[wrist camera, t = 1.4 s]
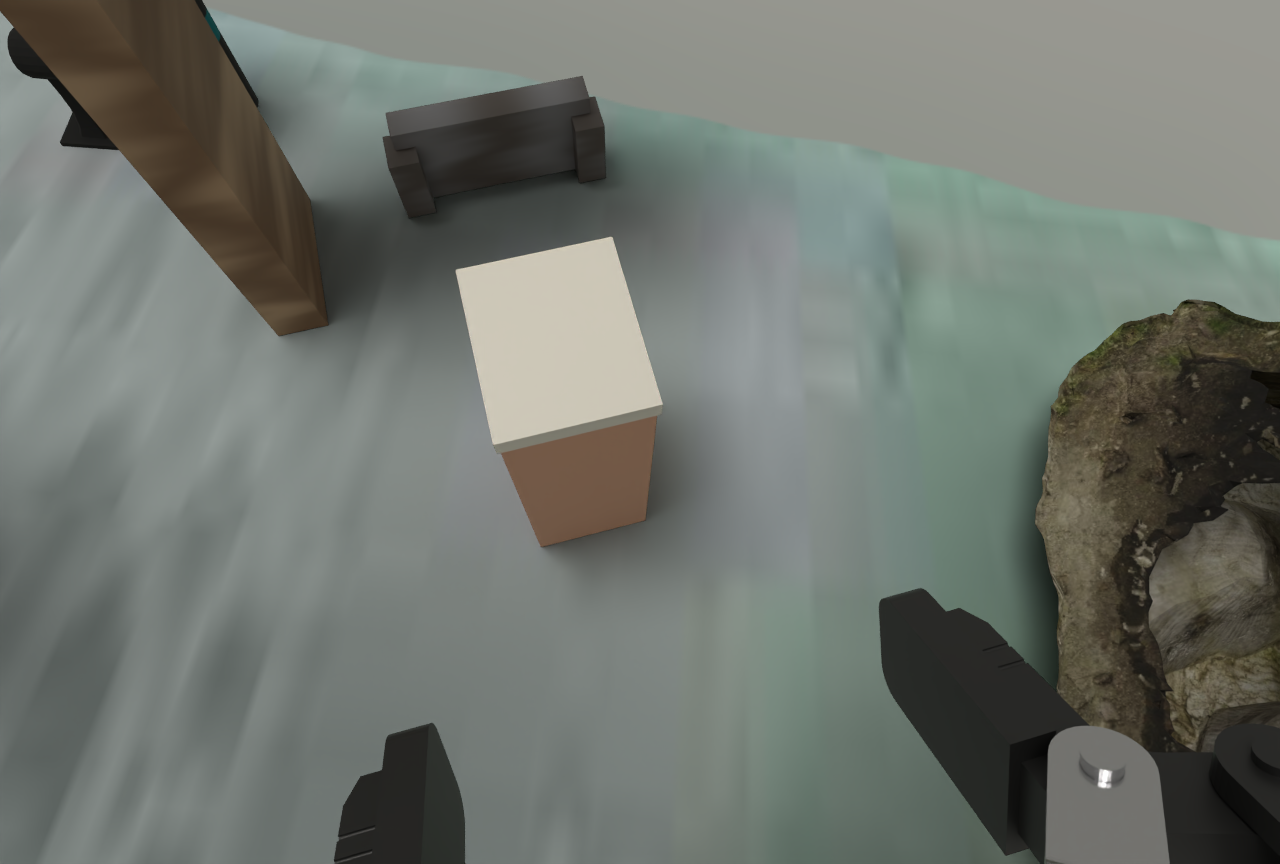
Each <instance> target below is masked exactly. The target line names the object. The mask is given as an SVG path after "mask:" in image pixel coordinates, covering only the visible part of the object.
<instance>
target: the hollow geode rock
mask: <svg viewBox="0 0 1280 864" xmlns="http://www.w3.org/2000/svg"><path fill="white" fill-rule="evenodd" d="M1173 311H1174V313H1173V314H1172V315H1167V314H1164V313H1162V314H1158V315H1154V316H1150V317H1147V318H1145V319H1142V320H1138V321H1129V322H1127V323H1124V324H1122V325H1121V326H1120V327H1118V328H1117V329H1116V331H1115V332H1114V333H1113V334H1112V335H1111V336H1109V337H1108V338H1107V339H1106V340H1104V341H1103V342H1102V344H1101V345H1100V346H1099V347H1098V348H1097V349H1096V350H1094V351H1093V352H1090V353H1088V354H1087V355H1086V356H1084V357H1083V358H1082V359H1080V360H1079V361H1078V362H1077V363H1076V364H1075V365H1074V366H1073V367H1072V368H1071V370H1070V372H1069V374H1068V376H1067V378H1066V379H1065V380H1064V381H1063V383H1062V384H1061V385H1060V388H1059V392H1058V398H1057V400H1056V401H1055V402H1054V403H1053V405H1052V406H1051V420H1050V425H1049V435H1048V460H1047V462H1046V466H1045V473H1044V475H1043V477H1042V484H1043V493H1042V497H1041V499H1040V501H1039V502H1038V504H1037V507H1036V515H1035V525H1036V526H1037V528H1038V529H1039V531H1040V532H1041V534H1042V536H1043V538H1044V542H1045V548H1046V554H1047V559H1048V565H1049V570H1050V574H1051V577H1052V579H1053V582H1054V584H1055V587H1056V590H1057V593H1058V597H1059V620H1058V625H1057V644H1058V648H1059V676H1058V682H1057V687H1056V689H1057V693H1058V694H1059V695H1060V696H1061V697H1062V698H1063V699H1064V700H1065V701H1066V702H1067V703H1068V704H1069V705H1070V706H1071V707H1072V708H1073V709H1074V710H1075V711H1076V712H1077V713H1078V714H1079V715H1080V716H1081V717H1082V718H1083V719H1084V720H1085V721H1086V722H1087V723H1088V724H1089V725H1090V726H1096V727H1102V728H1106V729H1110V730H1113V731H1116V732H1119V733H1121V734H1123V735H1125V736H1127V737H1129V738H1131V739H1132V740H1134V741H1135V742H1137V743H1138V744H1139V745H1141V746H1142V747H1143V748H1144V749H1145V750H1146V751H1149V752H1162V753H1174V752H1213V750H1214V744H1215V740H1216V738H1217V736H1218V735H1219V734H1220V733H1221V731H1223V730H1224V729H1226V728H1228V727H1231V726H1234V725H1239V724H1251V723H1253V724H1263V725H1269V726H1274V727H1277V728H1280V322H1262V321H1259V320H1255V319H1252V318H1249V317H1245V316H1241V315H1238V314H1235V313H1233V312H1231V311H1230V310H1228V309H1226V308H1225V307H1223V306H1221V305H1219V304H1217V303H1215V302H1208V301H1201V300H1186V301H1183V302H1181V303H1180V304H1179V306H1178V307H1177V309H1175V310H1173Z"/></svg>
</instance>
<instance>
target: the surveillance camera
mask: <svg viewBox="0 0 1280 864" xmlns="http://www.w3.org/2000/svg"><path fill="white" fill-rule="evenodd" d="M195 2H196V4H197V5H198V7H199V9H200V11H201V12H202V14H203V16H204V17H205V19H206V21H207V23H208V24H209V26H210V28H211V30H212V31H213V33H214V35H215V36H216V38H217V40H218V42H219V43H220V45H221V47H222V49H223V50H224V52H225V54H226V55H227V57H228V59H229V61H230V62H231V64H232V66H233V67H234V69H235V71H236V73H237V74H238V76H239V78H240V80H241V81H242V83H243V85H244V86H245V88H246V90H247V92H248V93H249V95H250V97H251V99H252V100H253V102H254V104H255V105H256V107H258V98H257V97H256V95H255V93H254V91H253V90H252V88H251V86H250V84H249V83H248V81H247V79H246V77H245V75H244V74H243V72H242V70H241V68H240V67H239V65H238V63H237V61H236V60H235V58H234V56H233V54H232V53H231V51H230V49H229V47H228V45H227V44H226V42H225V40H224V38H223V37H222V35H221V33H220V31H219V30H218V28H217V26H216V24H215V22H214V21H213V19H212V17H211V15H210V14H209V12H208V10H207V8H206V7H205V5H204V3H203V1H202V0H195ZM8 50H9V54H10V57H11V59H12V61H13V63H14V64H15V66H16V67H17V69H18V70H20V71H21V72H22V73H23V74H25V75H27V76H30V77H32V78H39V79H48V80H49V82H50V83H51V84H52V85H53V86H54V88H55V89H56V90H57V91H58V92H59V94H60V95H61V96H62V98H63V99H64V100H65V102H66V103H67V104H68V106H69V107H70V108H71V110H72V112H73V113H72V115H71V117H70V120H69V122H68V125H67V127H66V129H65V132H64V134H63V136H62V139H61V141H60V143H61V145H62V146H71V147H85V148H98V149H111V150H119V149H118V148H117V147H116V146H115V145H114V143H113V142H112V141H111V140H110V139H109V138H108V136H107V135H106V134H105V133H104V132H103V131H102V129H101V128H100V127H99V126H98V125H97V124H96V122H95V121H94V120H93V119H92V118H91V117H90V115H89V114H88V113H87V112H86V111H85V109H84V108H83V107H82V106H81V105H80V104H79V102H78V101H77V100H76V99H75V98H74V97H73V95H72V94H71V93H70V92H69V91H68V90H67V88H66V87H65V86H64V85H63V84H62V83H61V81H60V80H59V79H58V78H57V77H56V76H55V74H54V73H53V72H52V71H51V70H50V69H49V67H48V66H47V65H46V64H45V63H44V62H43V60H42V59H41V58H40V57H39V56H38V55H37V53H36V52H35V51H34V50H33V49H32V48H31V46H30V45H29V44H28V43H27V42H26V41H25V39H24V38H23V37H22V36H21V35H20V34H19V32H18V31H17V30H16V29H15V28H13V29H12V30H11V31H10V33H9V36H8Z"/></svg>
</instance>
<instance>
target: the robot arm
mask: <svg viewBox="0 0 1280 864" xmlns="http://www.w3.org/2000/svg"><path fill="white" fill-rule="evenodd" d="M879 619H880V638H881V657H882V668H883V673H884V677H885V680H886V683H887V685H888V688H889V690H890V692H891V694H892V696H893V698H894V699H895V701H896V702H897V704H898V705H899V706H900V708H901V709H902V711H903V712H904V713H905V715H906V716H907V718H908V719H909V721H910V722H911V723H912V725H913V726H914V728H915V729H916V730H917V732H918V733H919V735H920V736H921V737H922V739H923V740H924V742H925V743H926V744H927V746H928V747H929V749H930V750H931V751H932V753H933V754H934V756H935V757H936V758H937V760H938V761H939V763H940V764H941V766H942V767H943V768H944V770H945V771H946V773H947V774H948V775H949V777H950V778H951V780H952V781H953V782H954V784H955V785H956V787H957V788H958V789H959V791H960V792H961V794H962V795H963V796H964V798H965V799H966V801H967V802H968V803H969V805H970V806H971V808H972V809H973V810H974V812H975V813H976V815H977V816H978V818H979V819H980V820H981V822H982V823H983V825H984V826H985V827H986V829H987V830H988V832H989V833H990V834H991V836H992V837H993V839H994V840H995V841H996V843H997V844H998V846H999V847H1000V848H1001V850H1002V851H1003V853H1004V854H1005V855H1006V856H1007V855H1010V854H1013V853H1016V852H1019V851H1022V850H1025V849H1028V848H1029V849H1030V850H1031V851H1032V853H1033V854H1034V855H1035V857H1036V858H1037V859H1038V861H1039V862H1040V863H1041V864H1280V728H1277V727H1274V726H1269V725H1263V724H1253V723H1251V724H1239V725H1234V726H1231V727H1228V728H1226V729H1224V730H1223V731H1221V733H1220V734H1219V735H1218V736H1217V738H1216V740H1215V744H1214V750H1213V752H1174V753H1162V752H1149V751H1146V750H1145V749H1144V748H1143V747H1142V746H1141V745H1139V744H1138V743H1137V742H1135V741H1134V740H1132V739H1131V738H1129V737H1127V736H1125V735H1123V734H1121V733H1119V732H1116V731H1113V730H1110V729H1106V728H1102V727H1096V726H1090V725H1089V724H1088V723H1087V722H1086V721H1085V720H1084V719H1083V718H1082V717H1081V716H1080V715H1079V714H1078V713H1077V712H1076V711H1075V710H1074V709H1073V708H1072V707H1071V706H1070V705H1069V704H1068V703H1067V702H1066V701H1065V700H1064V699H1063V698H1062V697H1061V696H1060V695H1059V694H1058V693H1057V692H1056V691H1055V690H1054V689H1053V688H1052V687H1051V686H1050V685H1049V684H1048V683H1047V682H1046V681H1045V680H1044V679H1043V678H1042V677H1041V676H1040V675H1039V674H1038V673H1037V672H1036V671H1035V670H1034V669H1033V668H1032V667H1031V666H1030V665H1029V664H1028V663H1027V664H1026V663H1025V662H1024V659H1023V658H1022V657H1021V656H1020V655H1019V654H1018V653H1017V652H1016V651H1015V650H1014V649H1013V648H1012V647H1009V646H1008V643H1007V642H1006V641H1005V640H1004V639H1003V638H1002V637H1001V636H1000V635H999V634H998V633H997V632H996V631H995V630H994V629H993V628H992V627H991V625H990V624H989V623H987V622H986V621H984V620H982V619H980V618H978V617H976V616H974V615H972V614H970V613H968V612H966V611H964V610H962V609H960V608H958V609H954V610H951V611H947V612H946V611H945V610H944V609H943V608H942V607H941V606H940V605H939V604H938V603H937V601H936V600H935V599H934V598H933V597H932V596H931V595H930V594H929V593H928V592H927V591H926V590H924V589H922V588H919V589H915V590H912V591H908V592H905V593H901V594H897V595H894V596H890V597H887V598H883V599H881V601H880V603H879ZM338 837H339V841H338V842H337V845H336V851H335V857H334V862H335V864H465V819H464V810H463V803H462V798H461V794H460V790H459V787H458V784H457V781H456V778H455V776H454V773H453V771H452V768H451V765H450V763H449V760H448V757H447V755H446V752H445V749H444V747H443V744H442V741H441V739H440V736H439V733H438V731H437V728H436V727H435V725H434V724H433V723H430V724H426V725H422V726H419V727H415V728H412V729H408V730H404V731H401V732H397V733H394V734H390V735H388V736H387V739H386V743H385V750H384V759H383V767H382V770H381V771H378V772H374V773H371V774H367V775H364V776H360V778H359V780H358V782H357V783H356V785H355V787H354V788H353V790H352V792H351V794H350V795H349V797H348V799H347V800H346V802H345V804H344V806H343V810H342V816H341V822H340V828H339V834H338Z"/></svg>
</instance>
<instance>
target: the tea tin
mask: <svg viewBox="0 0 1280 864" xmlns="http://www.w3.org/2000/svg"><path fill="white" fill-rule="evenodd" d="M456 275H457V279H458V284H459V289H460V293H461V298H462V303H463V307H464V312H465V316H466V321H467V326H468V330H469V335H470V340H471V344H472V349H473V354H474V358H475V363H476V368H477V372H478V377H479V381H480V386H481V391H482V395H483V400H484V405H485V409H486V414H487V419H488V423H489V428H490V433H491V437H492V442H493V446H494V448H495V450H496V453H497V454H499V453H501V454H502V457H503V459H504V461H505V464H506V466H507V468H508V471H509V473H510V476H511V478H512V480H513V483H514V485H515V487H516V490H517V492H518V494H519V497H520V499H521V501H522V504H523V506H524V508H525V511H526V513H527V515H528V518H529V520H530V523H531V525H532V527H533V530H534V532H535V534H536V537H537V539H538V541H539V544H540V546H541V547H544V546H547V545H551V544H555V543H559V542H563V541H567V540H571V539H575V538H579V537H583V536H587V535H590V534H594V533H598V532H602V531H606V530H610V529H614V528H618V527H622V526H626V525H630V524H633V523H637V522H641V521H645V519H646V510H647V501H648V492H649V483H650V475H651V466H652V457H653V448H654V439H655V430H656V422H657V415H661V414H662V406H663V404H662V400H661V397H660V394H659V390H658V387H657V384H656V380H655V377H654V374H653V370H652V367H651V364H650V361H649V357H648V354H647V351H646V347H645V344H644V341H643V337H642V334H641V331H640V327H639V324H638V321H637V317H636V314H635V311H634V307H633V304H632V301H631V298H630V294H629V291H628V288H627V284H626V281H625V278H624V274H623V271H622V268H621V264H620V261H619V258H618V254H617V251H616V248H615V245H614V241H613V238H612V237H608V238H603V239H598V240H594V241H589V242H584V243H580V244H575V245H570V246H565V247H561V248H556V249H551V250H547V251H542V252H537V253H533V254H528V255H523V256H518V257H514V258H509V259H504V260H500V261H495V262H490V263H486V264H481V265H476V266H471V267H467V268H462V269H457V270H456Z"/></svg>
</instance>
